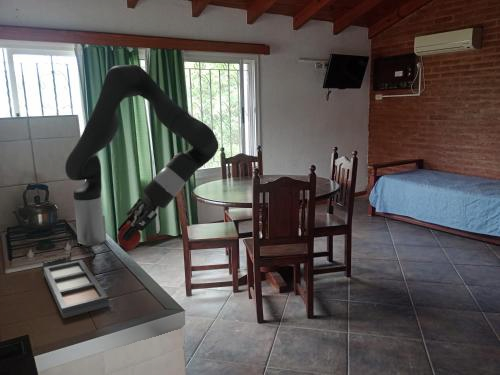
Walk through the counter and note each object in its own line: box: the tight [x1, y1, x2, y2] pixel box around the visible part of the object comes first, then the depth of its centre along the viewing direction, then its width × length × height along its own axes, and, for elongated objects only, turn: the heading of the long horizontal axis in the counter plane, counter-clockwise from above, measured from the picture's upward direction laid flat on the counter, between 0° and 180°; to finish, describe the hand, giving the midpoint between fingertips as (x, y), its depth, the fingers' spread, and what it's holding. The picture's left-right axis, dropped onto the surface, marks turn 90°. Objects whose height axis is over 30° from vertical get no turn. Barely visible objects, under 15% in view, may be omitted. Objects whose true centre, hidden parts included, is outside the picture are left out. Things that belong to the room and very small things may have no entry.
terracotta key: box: [62, 288, 99, 305], centre depth 106 cm, size 8×8×1 cm
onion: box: [117, 221, 142, 251], centre depth 108 cm, size 6×6×8 cm
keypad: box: [43, 259, 110, 319], centre depth 114 cm, size 30×11×3 cm, turn 34°
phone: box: [41, 257, 71, 272], centre depth 135 cm, size 8×1×15 cm
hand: (122, 235), depth 107 cm, fingers closed on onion, 5 cm apart
